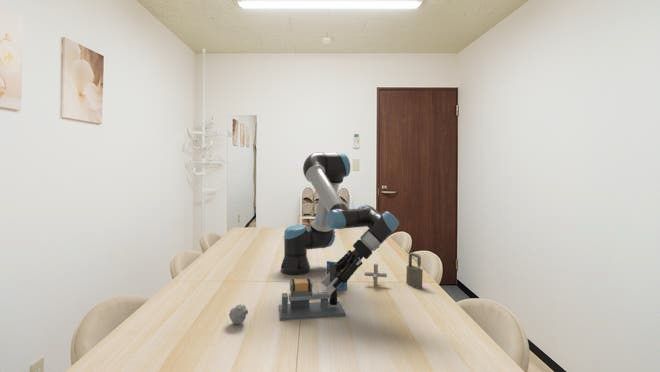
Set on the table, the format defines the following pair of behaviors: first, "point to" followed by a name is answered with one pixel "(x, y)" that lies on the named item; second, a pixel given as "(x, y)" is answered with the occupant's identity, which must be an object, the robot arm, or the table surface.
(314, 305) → the frame
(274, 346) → the table surface
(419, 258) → the padlock
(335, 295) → the rod with black post
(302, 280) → the block
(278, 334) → the table surface
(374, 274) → the pipe connector
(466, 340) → the table surface
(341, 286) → the label tape cartridge
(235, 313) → the grey lumpy piece
